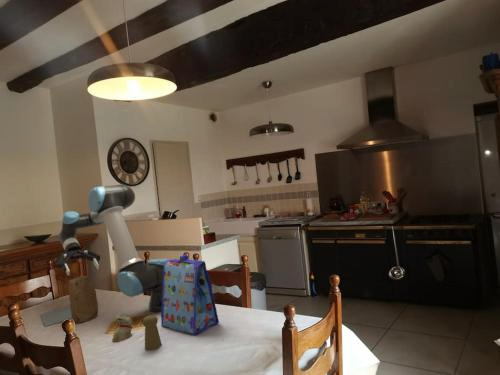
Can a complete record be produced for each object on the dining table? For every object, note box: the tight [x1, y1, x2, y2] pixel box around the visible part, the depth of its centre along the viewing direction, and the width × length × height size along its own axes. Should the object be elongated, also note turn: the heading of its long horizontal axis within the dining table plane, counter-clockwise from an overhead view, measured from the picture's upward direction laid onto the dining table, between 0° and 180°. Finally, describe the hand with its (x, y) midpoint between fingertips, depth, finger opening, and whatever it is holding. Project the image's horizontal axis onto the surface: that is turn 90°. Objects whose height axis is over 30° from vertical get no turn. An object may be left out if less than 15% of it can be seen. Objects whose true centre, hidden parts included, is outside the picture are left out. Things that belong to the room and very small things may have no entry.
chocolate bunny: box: [111, 312, 133, 343], centre depth 144 cm, size 6×8×10 cm
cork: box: [142, 314, 163, 351], centre depth 132 cm, size 6×6×11 cm
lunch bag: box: [160, 254, 220, 336], centre depth 149 cm, size 22×14×29 cm, turn 49°
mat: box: [40, 306, 73, 328], centre depth 181 cm, size 24×15×1 cm, turn 34°
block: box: [68, 275, 99, 324], centre depth 171 cm, size 11×8×20 cm
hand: (83, 270), depth 180 cm, fingers open, 13 cm apart
